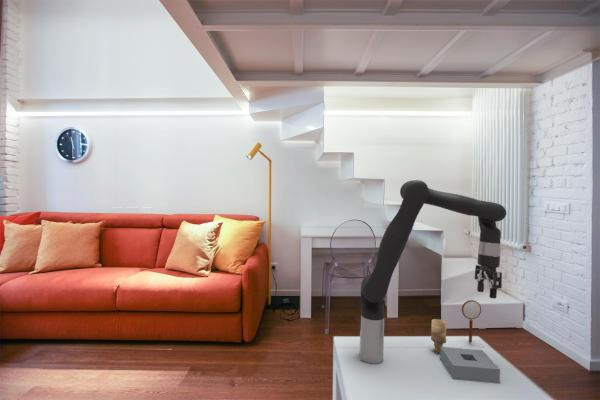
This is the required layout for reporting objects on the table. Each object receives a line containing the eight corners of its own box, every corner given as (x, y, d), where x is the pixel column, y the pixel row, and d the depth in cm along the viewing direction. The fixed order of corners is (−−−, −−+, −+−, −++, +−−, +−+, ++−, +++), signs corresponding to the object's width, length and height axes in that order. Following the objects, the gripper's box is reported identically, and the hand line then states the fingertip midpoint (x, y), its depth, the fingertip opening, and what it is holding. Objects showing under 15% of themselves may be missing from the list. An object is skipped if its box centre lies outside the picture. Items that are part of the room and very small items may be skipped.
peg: (432, 354, 131) (433, 324, 131) (428, 347, 137) (429, 318, 137) (447, 355, 130) (448, 325, 130) (442, 349, 136) (443, 319, 136)
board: (452, 378, 114) (453, 365, 114) (440, 358, 128) (440, 346, 128) (499, 383, 112) (500, 369, 112) (481, 362, 126) (482, 350, 126)
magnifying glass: (461, 344, 140) (463, 300, 140) (459, 342, 142) (461, 299, 142) (480, 345, 141) (482, 300, 140) (478, 343, 142) (480, 299, 142)
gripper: (470, 250, 130) (467, 289, 130) (490, 256, 116) (487, 299, 116) (488, 251, 130) (485, 290, 130) (510, 257, 116) (507, 301, 116)
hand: (486, 294), depth 123 cm, fingers open, 8 cm apart
